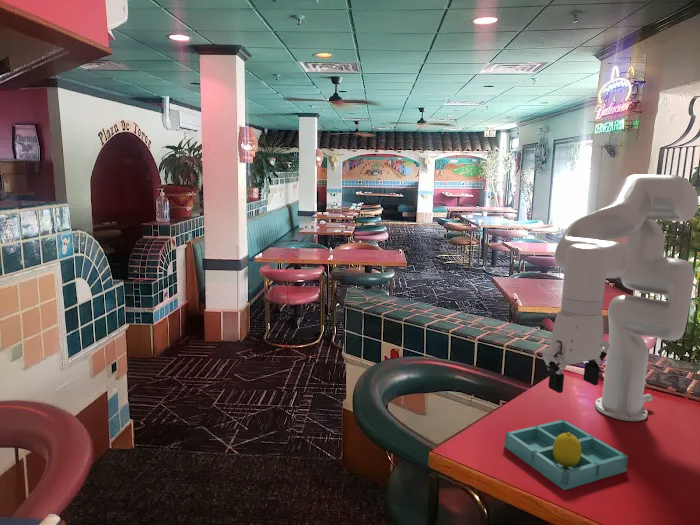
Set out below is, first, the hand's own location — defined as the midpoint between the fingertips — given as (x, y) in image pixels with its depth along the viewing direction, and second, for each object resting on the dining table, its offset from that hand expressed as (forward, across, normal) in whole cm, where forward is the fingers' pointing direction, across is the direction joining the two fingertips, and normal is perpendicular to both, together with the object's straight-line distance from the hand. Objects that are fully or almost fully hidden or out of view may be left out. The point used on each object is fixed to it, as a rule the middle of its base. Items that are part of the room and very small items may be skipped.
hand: (573, 386), depth 108 cm
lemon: (+19, 0, 0) cm, 19 cm away
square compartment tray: (+19, -4, -4) cm, 20 cm away
